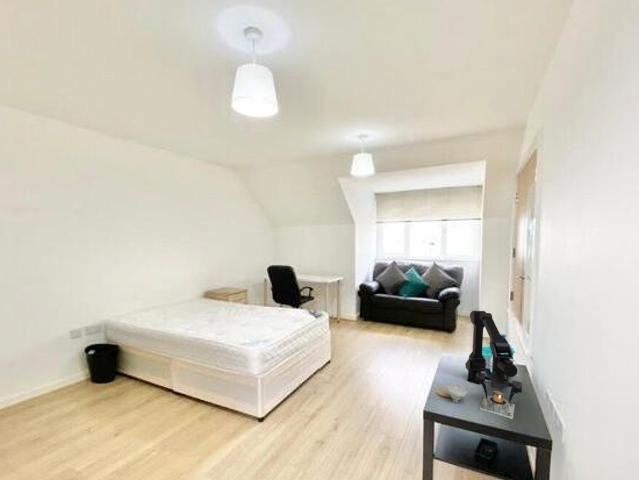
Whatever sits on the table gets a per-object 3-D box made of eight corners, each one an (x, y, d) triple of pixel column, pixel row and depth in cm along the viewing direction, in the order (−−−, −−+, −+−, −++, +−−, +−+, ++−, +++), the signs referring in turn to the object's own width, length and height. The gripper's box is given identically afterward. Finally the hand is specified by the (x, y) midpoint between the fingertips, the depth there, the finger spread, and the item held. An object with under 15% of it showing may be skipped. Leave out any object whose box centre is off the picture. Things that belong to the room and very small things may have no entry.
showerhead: (441, 382, 159) (459, 381, 161) (440, 396, 159) (458, 395, 161) (451, 392, 150) (471, 390, 152) (451, 407, 150) (470, 405, 152)
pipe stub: (491, 406, 150) (492, 393, 150) (492, 402, 154) (493, 390, 153) (502, 409, 147) (503, 397, 147) (503, 405, 151) (504, 392, 151)
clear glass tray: (480, 409, 149) (480, 402, 149) (484, 397, 160) (484, 390, 159) (512, 419, 142) (512, 411, 141) (514, 406, 152) (514, 399, 152)
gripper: (474, 367, 149) (473, 400, 149) (521, 379, 138) (520, 414, 139) (478, 359, 158) (477, 391, 158) (523, 370, 147) (521, 403, 148)
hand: (497, 399), depth 150 cm, fingers open, 9 cm apart
